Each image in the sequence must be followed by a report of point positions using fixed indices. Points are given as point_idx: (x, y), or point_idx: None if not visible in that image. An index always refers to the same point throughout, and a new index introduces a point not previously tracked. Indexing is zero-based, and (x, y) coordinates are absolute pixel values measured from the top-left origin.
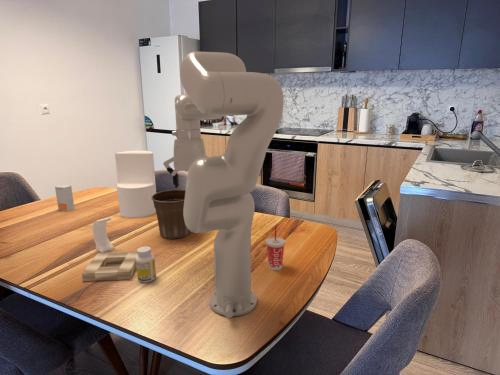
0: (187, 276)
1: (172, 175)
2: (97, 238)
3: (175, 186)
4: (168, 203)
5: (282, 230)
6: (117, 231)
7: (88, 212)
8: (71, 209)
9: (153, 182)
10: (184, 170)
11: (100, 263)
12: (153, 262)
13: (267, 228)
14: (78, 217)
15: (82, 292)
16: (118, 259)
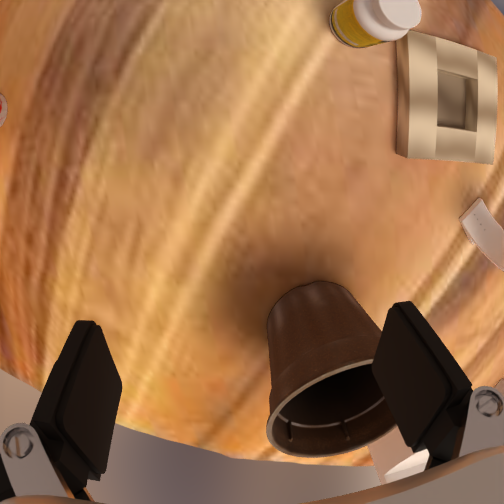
0: (231, 22)
1: (488, 389)
2: (501, 235)
3: (411, 306)
4: (369, 357)
5: (18, 329)
6: (449, 316)
7: (479, 384)
8: (497, 385)
9: (387, 476)
10: (392, 487)
11: (479, 100)
12: (350, 2)
13: (53, 343)
14: (495, 362)
15: (467, 9)
16: (448, 127)
